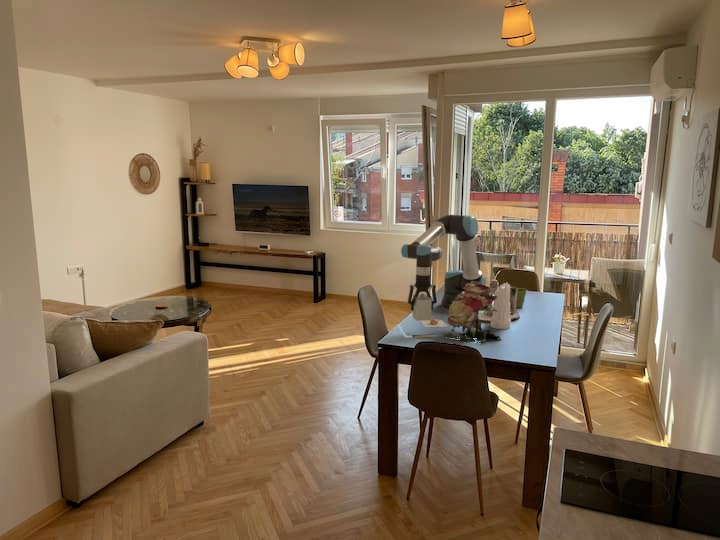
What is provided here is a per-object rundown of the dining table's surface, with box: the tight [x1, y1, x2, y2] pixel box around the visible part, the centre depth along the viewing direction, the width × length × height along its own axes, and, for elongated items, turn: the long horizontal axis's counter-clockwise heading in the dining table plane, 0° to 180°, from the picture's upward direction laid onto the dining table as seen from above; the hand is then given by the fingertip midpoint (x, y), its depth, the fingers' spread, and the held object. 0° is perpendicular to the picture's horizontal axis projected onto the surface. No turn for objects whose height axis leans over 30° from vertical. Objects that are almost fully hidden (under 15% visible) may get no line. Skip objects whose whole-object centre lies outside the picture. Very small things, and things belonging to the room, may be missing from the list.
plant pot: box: [516, 288, 528, 309], centre depth 341 cm, size 12×12×11 cm
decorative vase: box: [490, 281, 512, 330], centre depth 295 cm, size 11×11×25 cm
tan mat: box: [412, 334, 436, 340], centre depth 282 cm, size 16×11×1 cm
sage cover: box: [412, 293, 433, 322], centre depth 279 cm, size 8×8×13 cm
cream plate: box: [420, 317, 449, 328], centre depth 298 cm, size 13×13×3 cm
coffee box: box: [510, 285, 518, 314], centre depth 327 cm, size 9×6×16 cm
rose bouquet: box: [443, 281, 502, 345], centre depth 274 cm, size 26×29×30 cm
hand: (421, 316), depth 280 cm, fingers closed on sage cover, 8 cm apart
